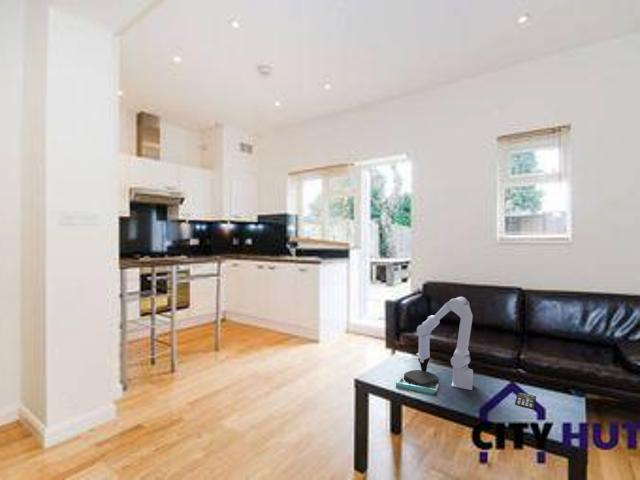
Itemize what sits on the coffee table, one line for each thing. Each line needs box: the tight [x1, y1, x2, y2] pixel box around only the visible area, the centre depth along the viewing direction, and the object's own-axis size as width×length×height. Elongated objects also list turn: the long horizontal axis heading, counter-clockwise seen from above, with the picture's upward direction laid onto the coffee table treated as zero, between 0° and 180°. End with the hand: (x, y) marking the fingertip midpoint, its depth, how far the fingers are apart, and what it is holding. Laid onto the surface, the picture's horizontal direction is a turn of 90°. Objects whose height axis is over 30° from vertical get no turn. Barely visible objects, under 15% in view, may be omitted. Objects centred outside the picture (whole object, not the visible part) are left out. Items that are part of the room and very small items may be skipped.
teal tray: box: [395, 376, 440, 396], centre depth 172 cm, size 19×10×2 cm, turn 63°
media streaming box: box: [403, 369, 440, 388], centre depth 180 cm, size 15×15×3 cm
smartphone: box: [514, 392, 537, 410], centre depth 158 cm, size 7×1×15 cm
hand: (424, 371), depth 188 cm, fingers closed
